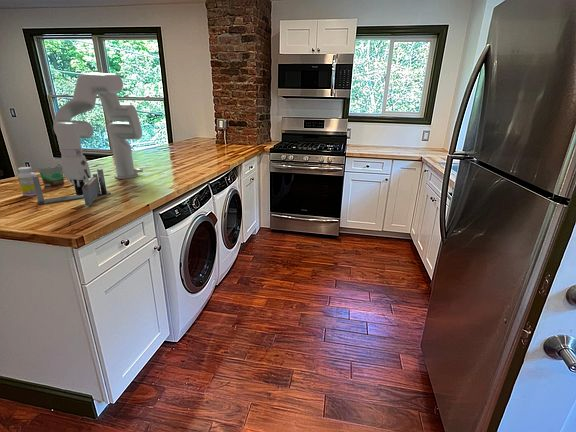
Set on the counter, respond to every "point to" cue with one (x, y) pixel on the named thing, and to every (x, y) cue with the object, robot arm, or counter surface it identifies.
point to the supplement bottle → (26, 181)
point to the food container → (52, 176)
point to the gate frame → (67, 198)
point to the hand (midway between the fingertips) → (80, 194)
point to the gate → (91, 190)
